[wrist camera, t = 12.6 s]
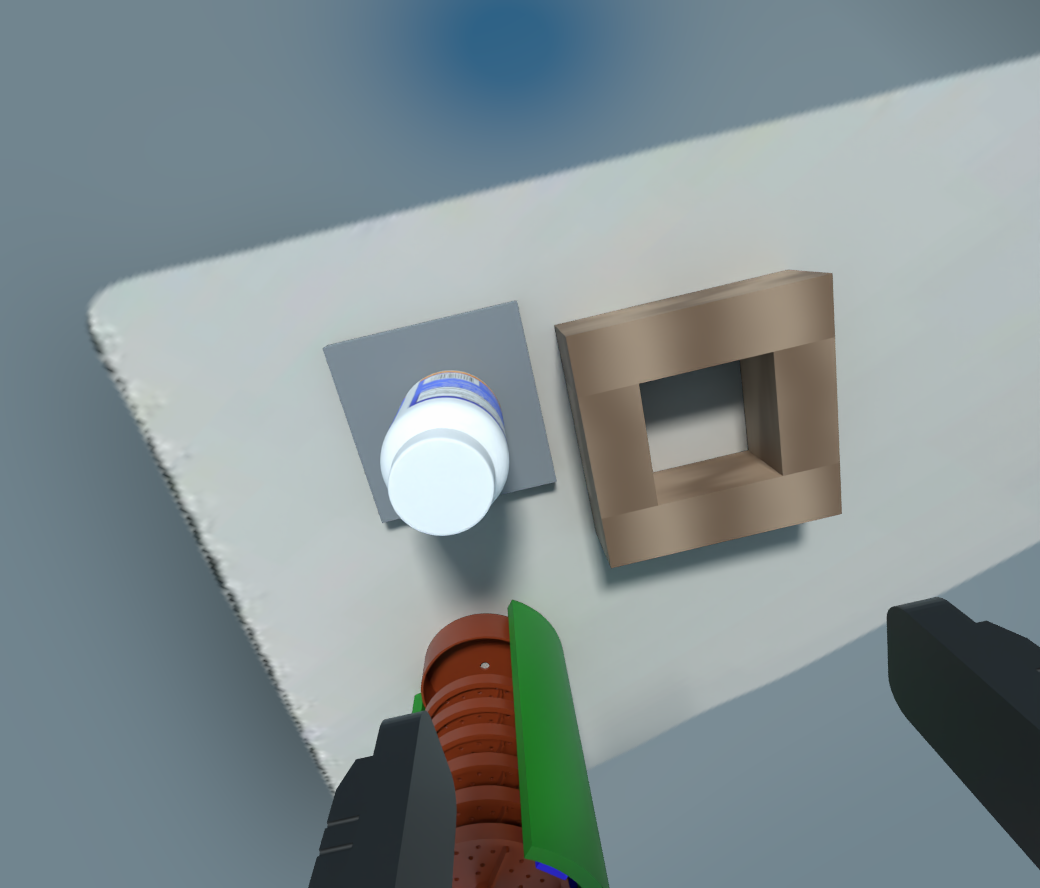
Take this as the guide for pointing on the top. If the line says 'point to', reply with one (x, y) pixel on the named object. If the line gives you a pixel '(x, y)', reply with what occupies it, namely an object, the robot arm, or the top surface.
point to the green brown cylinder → (512, 754)
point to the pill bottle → (445, 454)
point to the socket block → (767, 402)
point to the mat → (433, 348)
